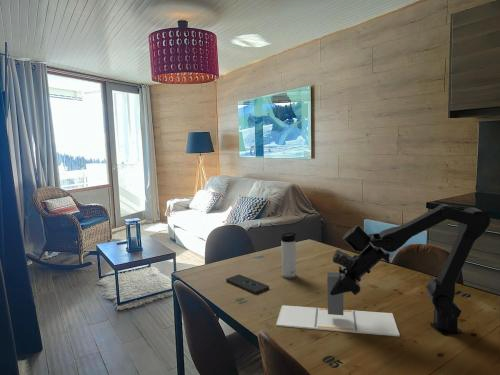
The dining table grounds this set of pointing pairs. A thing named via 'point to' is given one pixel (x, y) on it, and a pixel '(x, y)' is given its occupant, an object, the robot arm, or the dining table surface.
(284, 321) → the board
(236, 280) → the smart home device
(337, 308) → the translucent grey tumbler
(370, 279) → the dining table surface
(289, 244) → the travel mug
